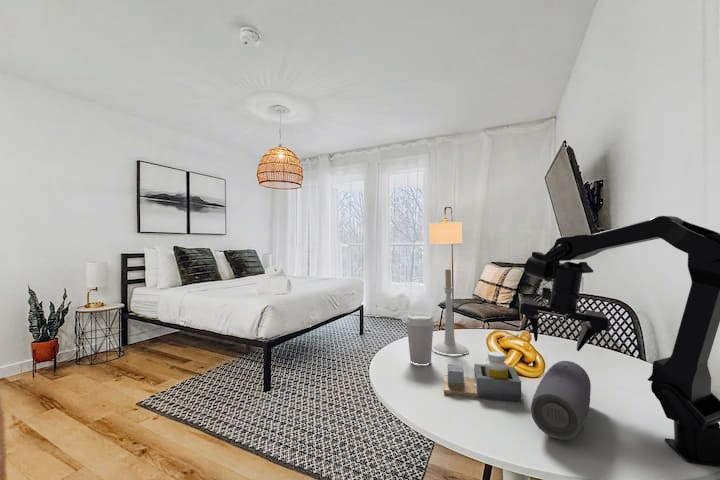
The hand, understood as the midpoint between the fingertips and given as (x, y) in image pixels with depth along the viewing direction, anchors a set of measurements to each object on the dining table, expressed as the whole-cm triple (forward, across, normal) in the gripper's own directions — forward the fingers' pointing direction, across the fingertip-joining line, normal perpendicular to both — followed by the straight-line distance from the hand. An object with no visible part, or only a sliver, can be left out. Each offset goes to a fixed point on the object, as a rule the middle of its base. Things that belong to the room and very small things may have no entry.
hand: (556, 345), depth 81 cm
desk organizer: (+14, +16, +7) cm, 22 cm away
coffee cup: (+19, +35, -6) cm, 40 cm away
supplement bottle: (+14, +12, +7) cm, 19 cm away
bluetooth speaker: (+10, -1, +15) cm, 18 cm away
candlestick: (+20, +29, -22) cm, 41 cm away
